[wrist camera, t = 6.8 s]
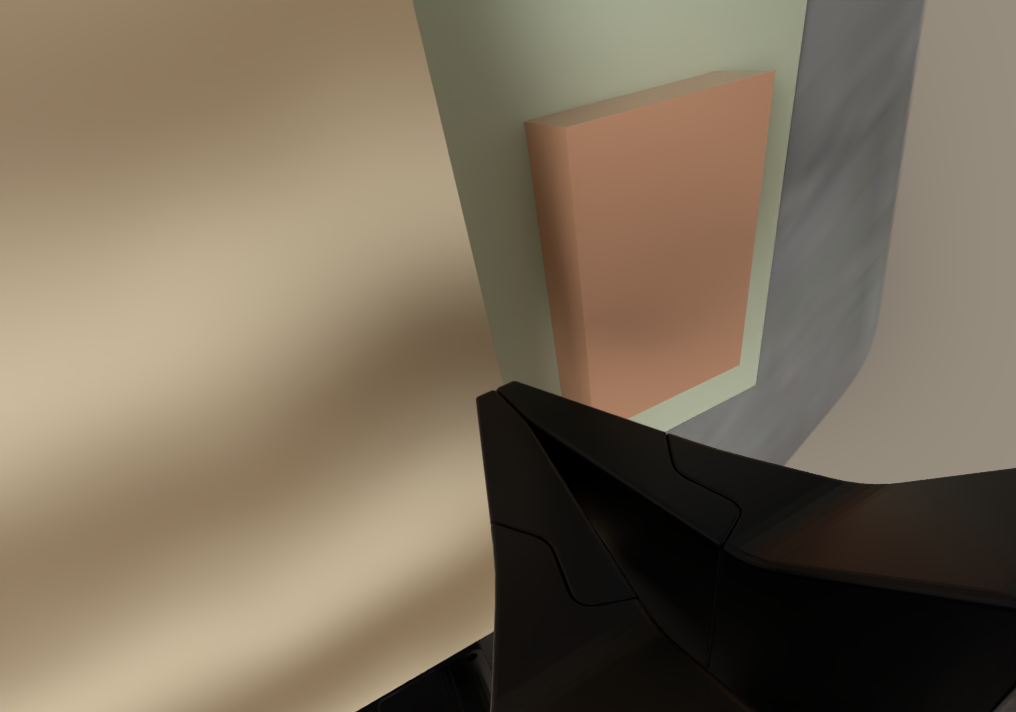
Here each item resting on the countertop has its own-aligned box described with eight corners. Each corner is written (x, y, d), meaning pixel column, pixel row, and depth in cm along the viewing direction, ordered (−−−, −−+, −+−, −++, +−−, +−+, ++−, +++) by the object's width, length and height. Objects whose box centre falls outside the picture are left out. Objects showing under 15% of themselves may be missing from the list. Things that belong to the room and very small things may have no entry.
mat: (750, 381, 22) (755, 385, 22) (513, 502, 19) (516, 507, 18) (822, -198, 12) (834, -204, 12) (339, -146, 9) (341, -153, 8)
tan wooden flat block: (501, 508, 19) (553, 596, 15) (165, 680, 15) (142, 835, 12) (311, -143, 9) (346, -276, 5) (-760, -29, 5) (-2185, -185, 2)
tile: (594, 434, 15) (562, 401, 17) (739, 365, 17) (697, 340, 18) (566, 127, 10) (524, 121, 12) (775, 69, 12) (714, 71, 14)
